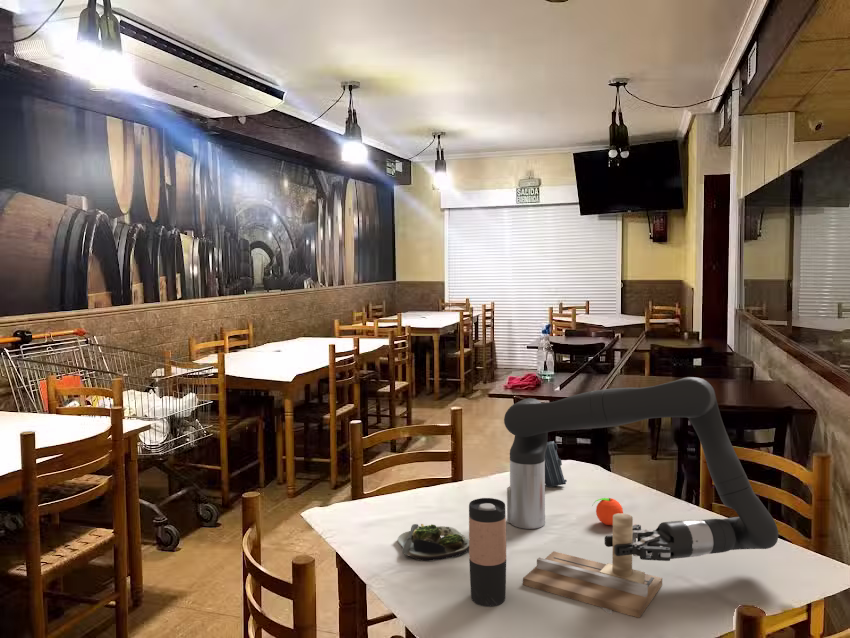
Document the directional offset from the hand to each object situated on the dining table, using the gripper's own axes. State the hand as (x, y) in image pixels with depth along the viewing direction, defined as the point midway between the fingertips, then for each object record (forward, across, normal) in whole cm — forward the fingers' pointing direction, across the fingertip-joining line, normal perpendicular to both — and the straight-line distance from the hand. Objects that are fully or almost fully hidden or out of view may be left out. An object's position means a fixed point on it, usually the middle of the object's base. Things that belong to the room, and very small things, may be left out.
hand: (610, 545), depth 139 cm
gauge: (-3, 0, +8) cm, 8 cm away
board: (+3, -3, +10) cm, 10 cm away
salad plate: (+33, -30, +10) cm, 45 cm away
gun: (-9, -67, +10) cm, 68 cm away
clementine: (-15, -33, +10) cm, 38 cm away
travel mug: (+26, -2, +10) cm, 28 cm away
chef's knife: (+4, +2, +10) cm, 11 cm away
